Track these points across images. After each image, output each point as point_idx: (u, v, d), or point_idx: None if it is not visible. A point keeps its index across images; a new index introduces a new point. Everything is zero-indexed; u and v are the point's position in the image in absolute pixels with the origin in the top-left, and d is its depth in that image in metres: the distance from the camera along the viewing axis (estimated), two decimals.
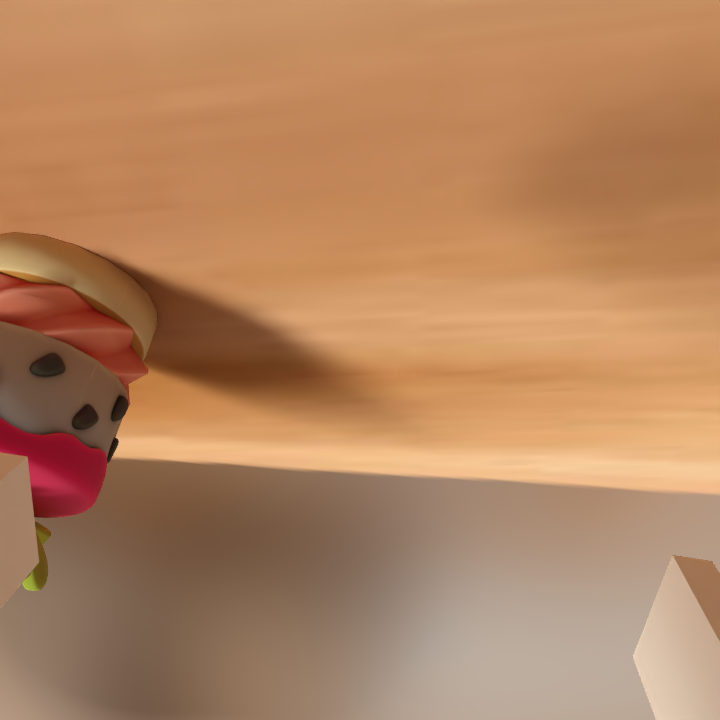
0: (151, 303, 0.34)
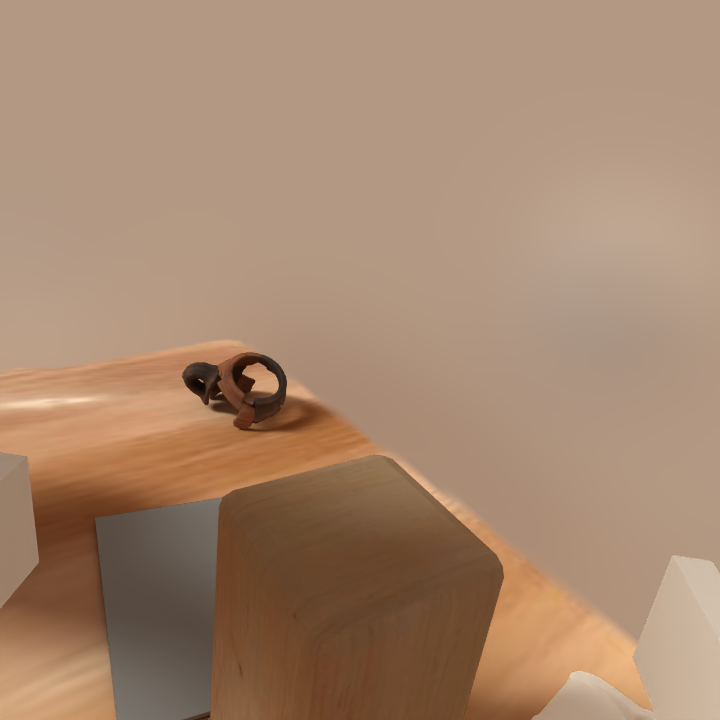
0: None
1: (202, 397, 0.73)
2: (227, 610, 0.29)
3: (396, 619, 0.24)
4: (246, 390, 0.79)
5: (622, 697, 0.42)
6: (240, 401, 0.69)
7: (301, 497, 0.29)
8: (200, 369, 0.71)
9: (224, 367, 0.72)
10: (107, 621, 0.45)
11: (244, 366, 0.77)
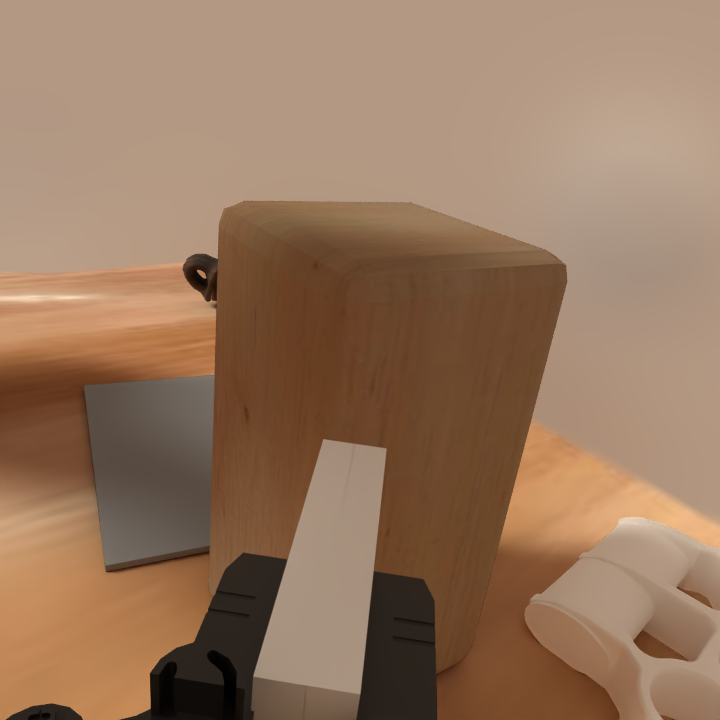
0: None
1: (204, 292, 0.69)
2: (229, 348, 0.24)
3: (443, 280, 0.19)
4: None
5: (682, 535, 0.36)
6: None
7: (318, 208, 0.24)
8: (201, 259, 0.67)
9: None
10: (95, 467, 0.40)
11: None
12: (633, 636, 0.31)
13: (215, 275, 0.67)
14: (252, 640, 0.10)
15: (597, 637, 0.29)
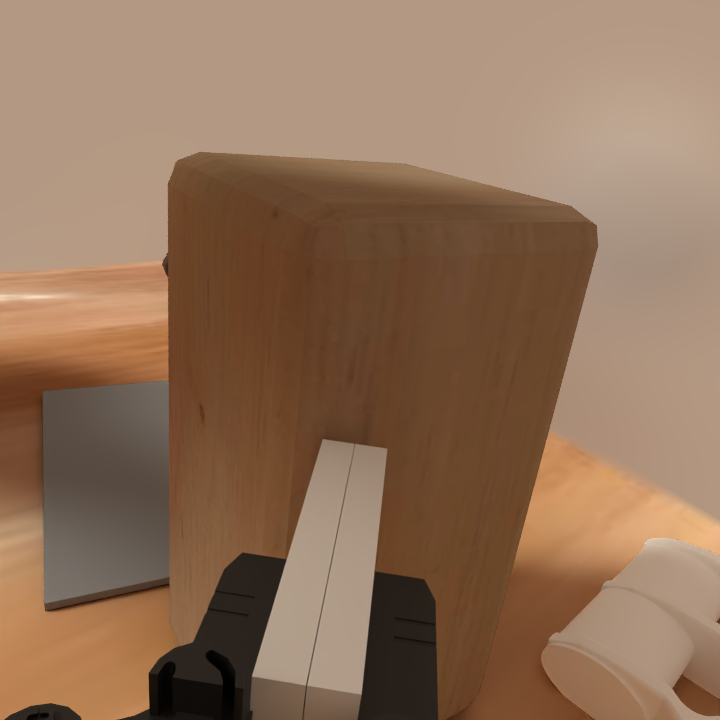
0: None
1: None
2: (182, 333, 0.20)
3: (443, 234, 0.15)
4: None
5: None
6: None
7: (290, 162, 0.20)
8: None
9: None
10: (44, 484, 0.35)
11: None
12: (672, 684, 0.26)
13: None
14: (251, 640, 0.10)
15: (631, 688, 0.24)
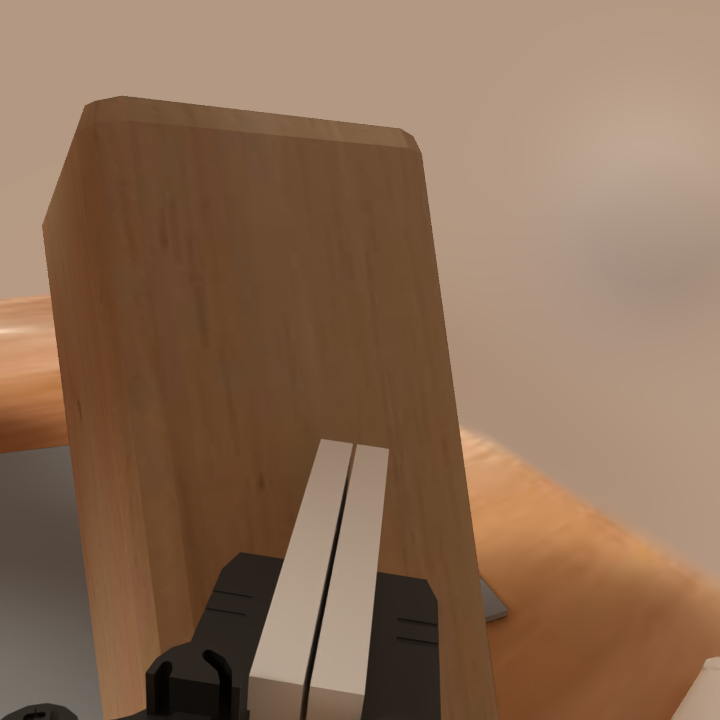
0: None
1: None
2: (63, 349, 0.20)
3: (235, 116, 0.16)
4: None
5: None
6: None
7: None
8: None
9: None
10: None
11: None
12: None
13: None
14: (249, 639, 0.10)
15: None
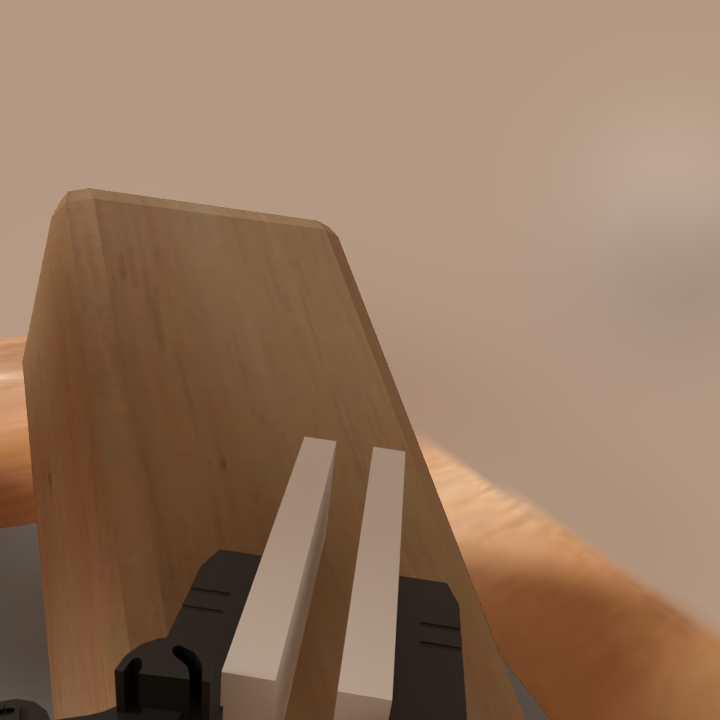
0: None
1: None
2: (37, 448, 0.21)
3: (179, 204, 0.20)
4: None
5: None
6: None
7: None
8: None
9: None
10: None
11: None
12: None
13: None
14: (225, 636, 0.10)
15: None
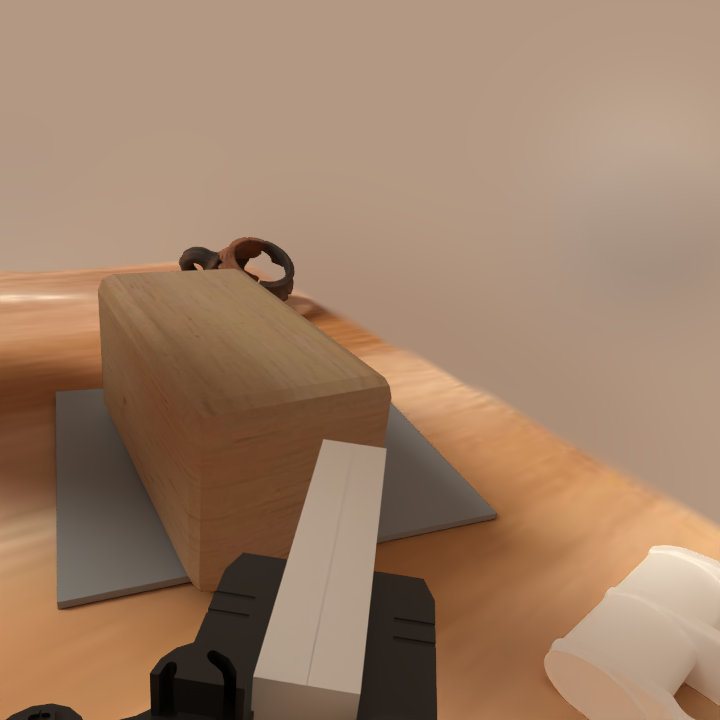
0: None
1: None
2: (118, 413, 0.39)
3: None
4: None
5: None
6: None
7: None
8: (199, 253, 0.64)
9: (225, 251, 0.65)
10: (57, 484, 0.35)
11: (246, 259, 0.70)
12: (673, 691, 0.26)
13: (213, 269, 0.64)
14: (252, 639, 0.10)
15: (632, 694, 0.25)
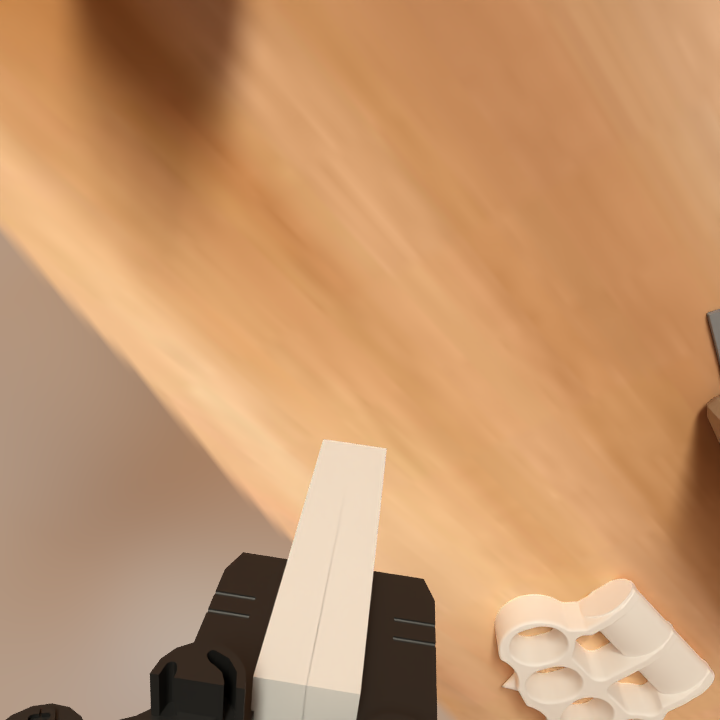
0: None
1: None
2: None
3: None
4: None
5: (678, 703, 0.50)
6: None
7: None
8: None
9: None
10: None
11: None
12: (602, 633, 0.50)
13: None
14: (252, 640, 0.10)
15: (596, 617, 0.48)
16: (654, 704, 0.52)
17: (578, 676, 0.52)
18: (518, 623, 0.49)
